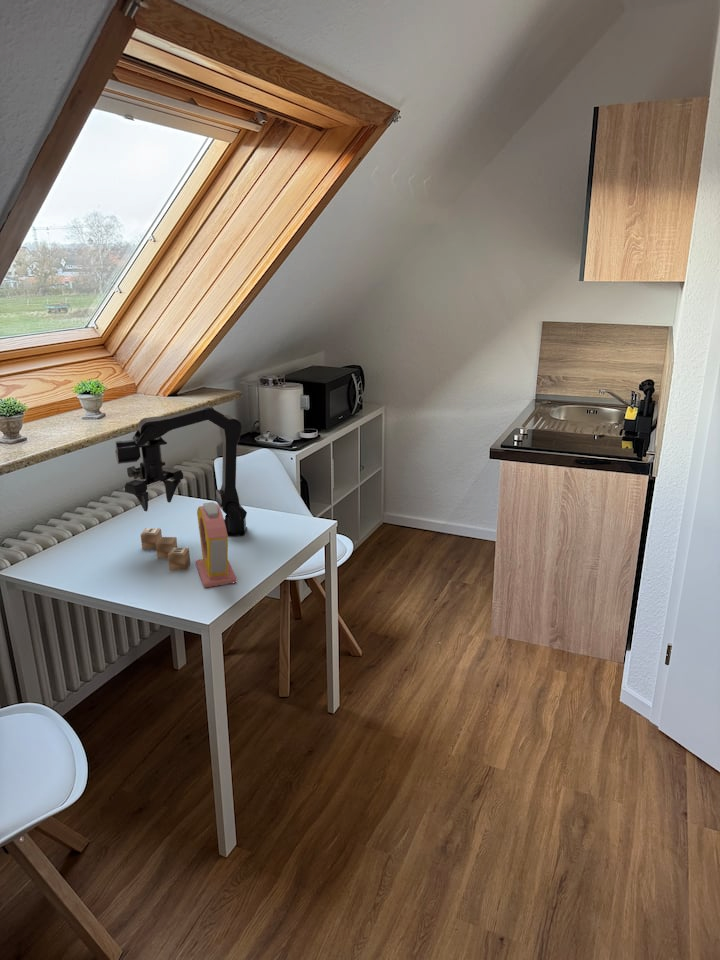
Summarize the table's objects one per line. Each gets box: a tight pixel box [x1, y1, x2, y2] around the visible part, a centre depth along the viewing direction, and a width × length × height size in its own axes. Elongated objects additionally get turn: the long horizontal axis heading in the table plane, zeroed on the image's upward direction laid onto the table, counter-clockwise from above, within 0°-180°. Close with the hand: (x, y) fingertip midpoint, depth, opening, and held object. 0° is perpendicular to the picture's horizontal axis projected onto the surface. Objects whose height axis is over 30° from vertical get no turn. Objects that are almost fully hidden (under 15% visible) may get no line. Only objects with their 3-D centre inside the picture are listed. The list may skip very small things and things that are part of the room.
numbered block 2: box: [167, 547, 191, 571], centre depth 207 cm, size 5×5×5 cm
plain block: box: [155, 536, 178, 559], centre depth 215 cm, size 5×5×5 cm
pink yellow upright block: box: [195, 501, 238, 589], centre depth 200 cm, size 22×9×22 cm, turn 21°
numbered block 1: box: [140, 527, 163, 550], centre depth 222 cm, size 5×5×5 cm
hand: (157, 506), depth 218 cm, fingers open, 9 cm apart
